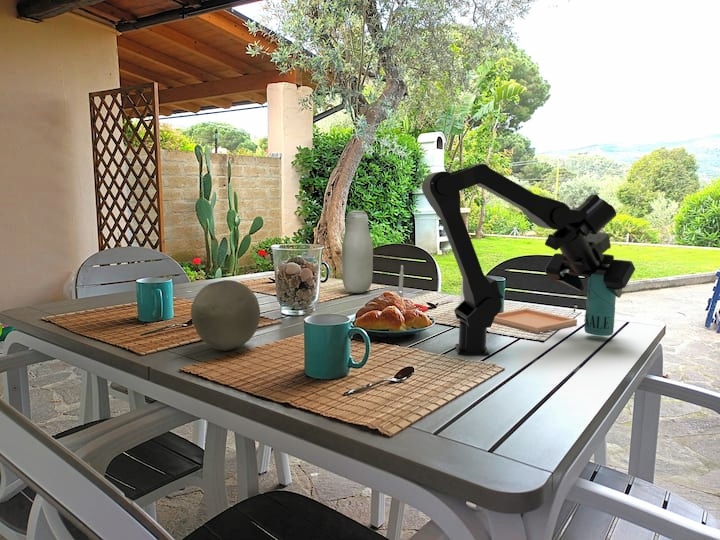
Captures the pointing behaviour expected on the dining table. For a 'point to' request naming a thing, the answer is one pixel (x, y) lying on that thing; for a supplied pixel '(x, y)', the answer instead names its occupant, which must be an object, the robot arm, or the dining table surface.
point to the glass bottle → (357, 253)
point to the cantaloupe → (225, 314)
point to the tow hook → (402, 291)
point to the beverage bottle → (599, 304)
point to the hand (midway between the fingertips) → (600, 292)
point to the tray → (533, 320)
